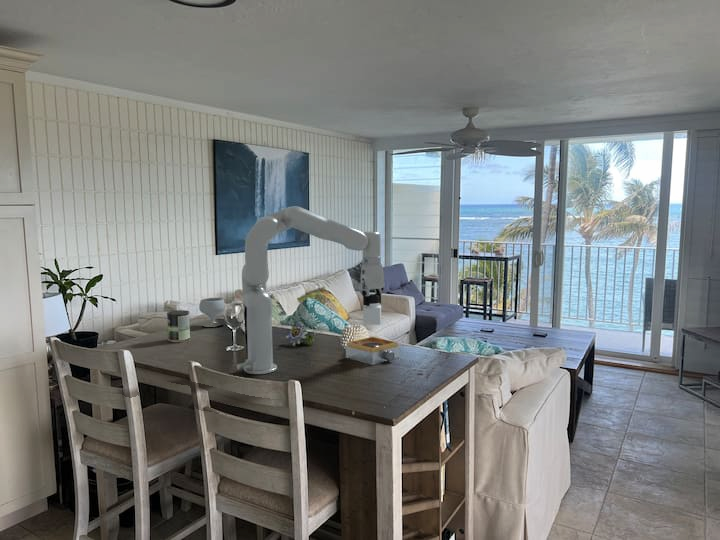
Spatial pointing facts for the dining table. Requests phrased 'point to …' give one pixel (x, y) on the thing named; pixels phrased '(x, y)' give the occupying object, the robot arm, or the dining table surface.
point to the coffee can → (178, 325)
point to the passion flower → (299, 335)
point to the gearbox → (372, 350)
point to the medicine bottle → (372, 311)
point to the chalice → (212, 307)
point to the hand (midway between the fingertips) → (372, 303)
